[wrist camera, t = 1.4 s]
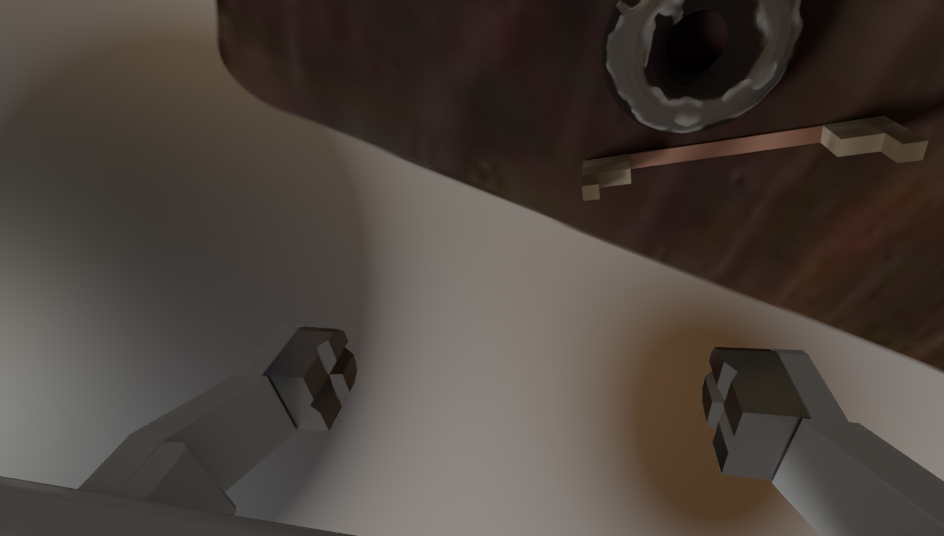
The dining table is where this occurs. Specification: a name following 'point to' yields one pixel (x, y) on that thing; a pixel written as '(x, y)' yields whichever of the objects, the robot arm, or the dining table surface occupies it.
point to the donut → (712, 89)
